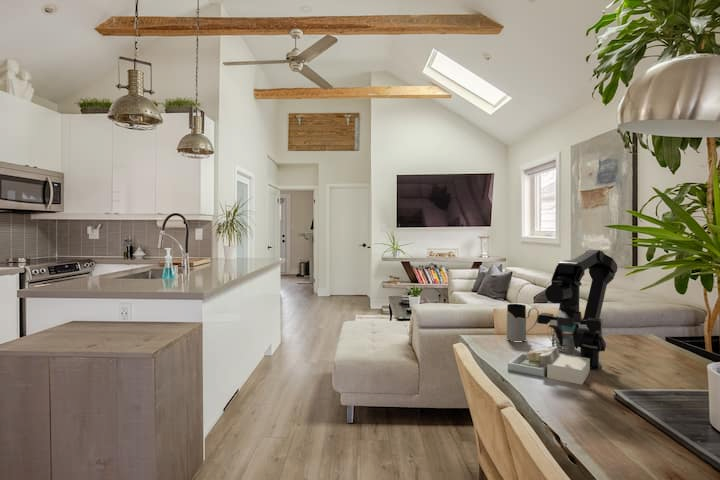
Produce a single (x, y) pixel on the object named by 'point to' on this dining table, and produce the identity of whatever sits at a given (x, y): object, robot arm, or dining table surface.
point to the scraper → (544, 355)
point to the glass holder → (517, 322)
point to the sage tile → (530, 363)
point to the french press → (564, 342)
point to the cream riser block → (569, 368)
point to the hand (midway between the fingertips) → (569, 347)
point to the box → (517, 366)
